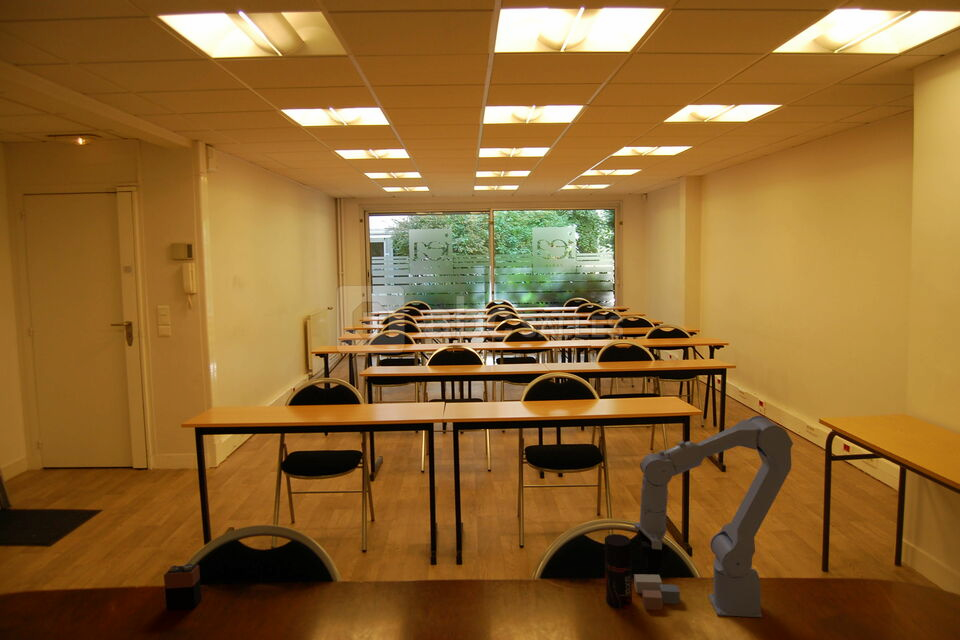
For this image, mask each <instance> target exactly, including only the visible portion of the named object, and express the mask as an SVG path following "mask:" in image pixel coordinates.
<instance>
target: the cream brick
mask: <svg viewBox="0 0 960 640" xmlns="http://www.w3.org/2000/svg"><path fill="white" fill-rule="evenodd" d="M633 578H634V579H633V581H634V582H633V583H634V584H633V586H634V588H635V592H636V594H642V590H657V591H660V584H663V581H662V579H661V576H660V574H658V575H655V574H642V573H641V574H640V573H639V574H633Z"/></svg>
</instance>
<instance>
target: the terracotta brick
mask: <svg viewBox="0 0 960 640" xmlns="http://www.w3.org/2000/svg"><path fill="white" fill-rule="evenodd" d="M641 595H642V605H643V609H644V610H652V611H653V610H655V611H656V610H657V611H663V603H662V595H661V592H660V591H657V590H642V593H641Z"/></svg>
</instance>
